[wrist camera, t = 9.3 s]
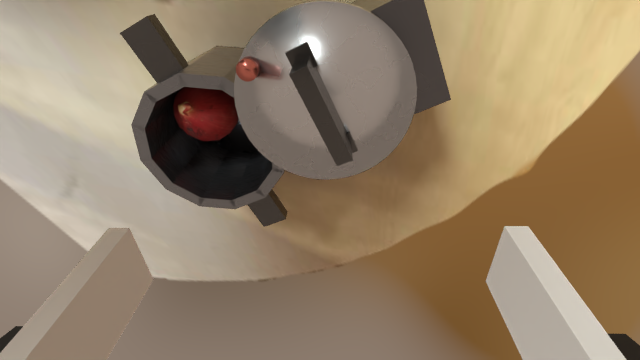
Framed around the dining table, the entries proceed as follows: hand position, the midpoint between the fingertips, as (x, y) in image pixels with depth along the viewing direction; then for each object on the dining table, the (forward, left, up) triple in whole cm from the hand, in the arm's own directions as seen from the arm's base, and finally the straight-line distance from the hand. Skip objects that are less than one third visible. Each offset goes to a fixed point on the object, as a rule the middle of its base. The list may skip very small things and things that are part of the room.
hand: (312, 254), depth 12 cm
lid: (0, 0, -15) cm, 15 cm away
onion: (-1, -11, -24) cm, 27 cm away
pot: (0, -10, -25) cm, 27 cm away
